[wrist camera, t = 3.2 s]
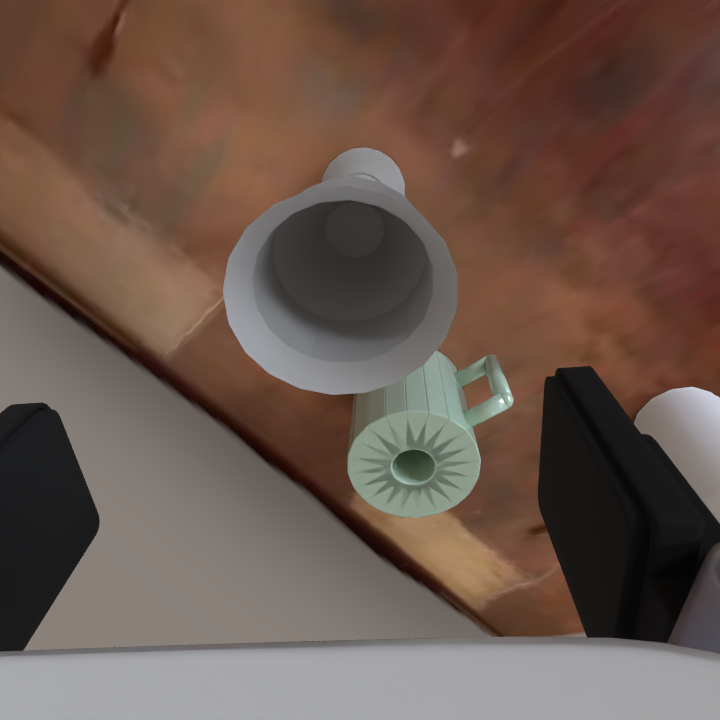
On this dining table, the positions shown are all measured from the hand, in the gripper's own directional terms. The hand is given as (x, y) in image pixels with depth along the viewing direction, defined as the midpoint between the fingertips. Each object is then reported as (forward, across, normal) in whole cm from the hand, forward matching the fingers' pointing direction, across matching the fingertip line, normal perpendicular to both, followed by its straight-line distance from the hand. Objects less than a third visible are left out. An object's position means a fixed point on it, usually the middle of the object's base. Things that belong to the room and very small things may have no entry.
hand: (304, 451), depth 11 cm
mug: (+25, -4, +13) cm, 29 cm away
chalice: (+26, 0, 0) cm, 26 cm away
